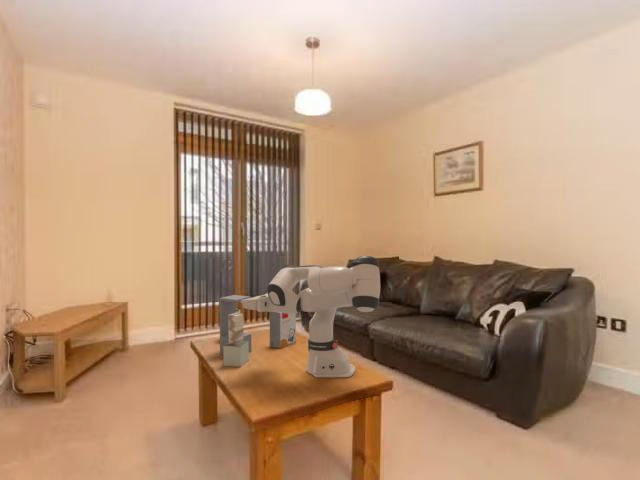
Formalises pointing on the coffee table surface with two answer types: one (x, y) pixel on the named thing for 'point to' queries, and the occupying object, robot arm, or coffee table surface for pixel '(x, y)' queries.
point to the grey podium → (226, 308)
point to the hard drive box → (282, 329)
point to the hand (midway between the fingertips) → (248, 299)
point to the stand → (236, 354)
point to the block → (235, 328)
